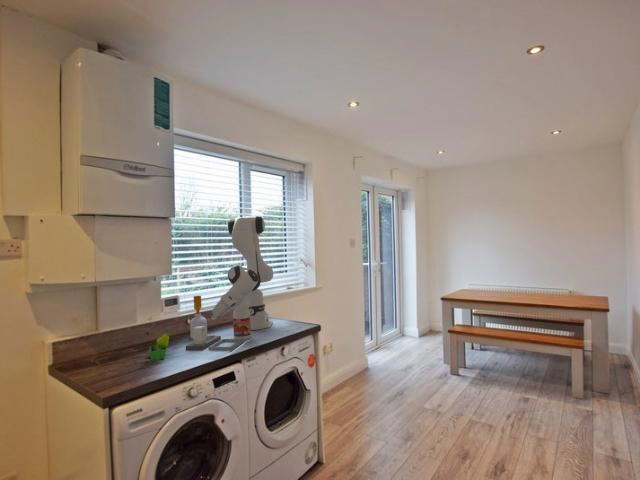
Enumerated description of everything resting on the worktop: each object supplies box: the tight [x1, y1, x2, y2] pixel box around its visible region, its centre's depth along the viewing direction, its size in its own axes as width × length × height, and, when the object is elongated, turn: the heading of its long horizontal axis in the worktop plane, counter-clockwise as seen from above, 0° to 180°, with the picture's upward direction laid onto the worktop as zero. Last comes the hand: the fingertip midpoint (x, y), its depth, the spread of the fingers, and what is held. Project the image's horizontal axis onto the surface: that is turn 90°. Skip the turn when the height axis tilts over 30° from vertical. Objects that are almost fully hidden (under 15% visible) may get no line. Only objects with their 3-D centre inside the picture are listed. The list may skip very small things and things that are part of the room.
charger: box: [193, 326, 206, 344], centre depth 188 cm, size 4×4×10 cm
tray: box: [207, 338, 244, 353], centre depth 187 cm, size 16×12×2 cm
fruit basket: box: [148, 333, 170, 363], centre depth 175 cm, size 11×9×11 cm
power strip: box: [185, 334, 222, 351], centre depth 192 cm, size 20×9×4 cm, turn 169°
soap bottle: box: [189, 295, 208, 340], centre depth 210 cm, size 9×9×25 cm
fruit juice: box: [232, 297, 252, 341], centre depth 204 cm, size 9×9×28 cm
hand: (216, 317), depth 186 cm, fingers open, 8 cm apart
